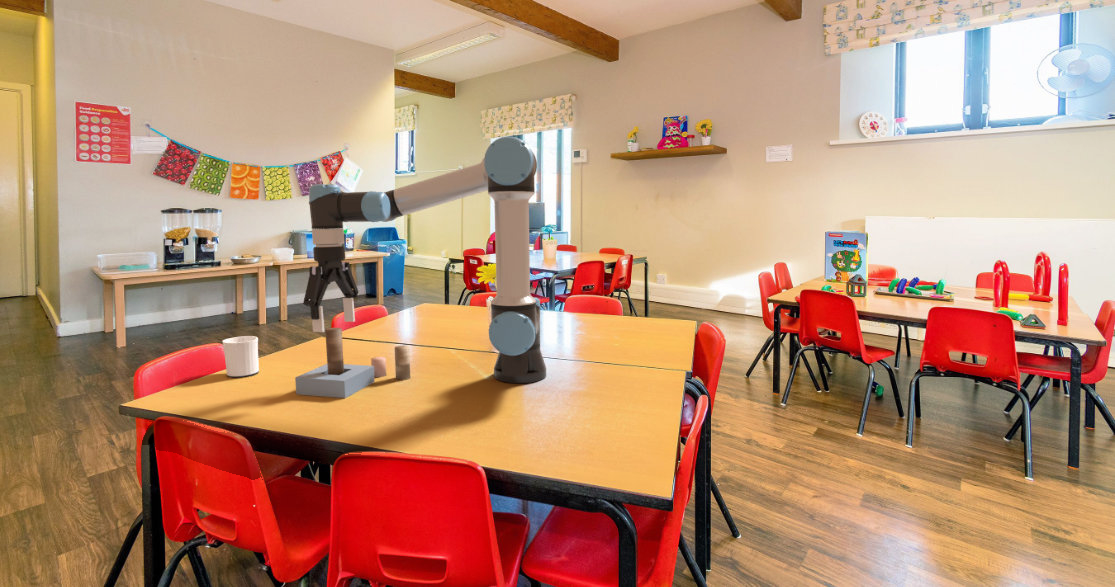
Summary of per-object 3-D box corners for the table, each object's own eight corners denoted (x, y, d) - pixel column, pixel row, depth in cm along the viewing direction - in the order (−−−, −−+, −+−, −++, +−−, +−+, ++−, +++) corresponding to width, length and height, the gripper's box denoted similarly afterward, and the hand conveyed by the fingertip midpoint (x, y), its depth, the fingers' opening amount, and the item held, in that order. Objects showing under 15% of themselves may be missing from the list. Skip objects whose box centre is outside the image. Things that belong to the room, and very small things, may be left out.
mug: (266, 372, 159) (264, 338, 157) (235, 380, 151) (232, 344, 150) (246, 367, 165) (244, 334, 163) (215, 374, 157) (212, 339, 156)
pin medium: (412, 376, 156) (411, 345, 155) (406, 380, 152) (405, 349, 151) (400, 375, 157) (398, 345, 155) (393, 379, 153) (391, 348, 152)
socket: (374, 381, 151) (373, 366, 150) (345, 398, 137) (344, 380, 136) (329, 378, 153) (328, 363, 153) (296, 394, 140) (295, 377, 139)
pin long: (347, 386, 147) (344, 328, 145) (339, 390, 143) (335, 331, 141) (334, 385, 148) (331, 327, 145) (325, 389, 144) (322, 330, 141)
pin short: (389, 373, 158) (388, 357, 158) (382, 377, 155) (381, 360, 154) (376, 373, 159) (375, 356, 159) (369, 376, 155) (368, 359, 155)
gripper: (343, 243, 153) (349, 317, 156) (282, 248, 129) (290, 336, 132) (368, 243, 151) (373, 317, 154) (310, 248, 127) (317, 337, 130)
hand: (335, 326), depth 143 cm, fingers open, 13 cm apart
